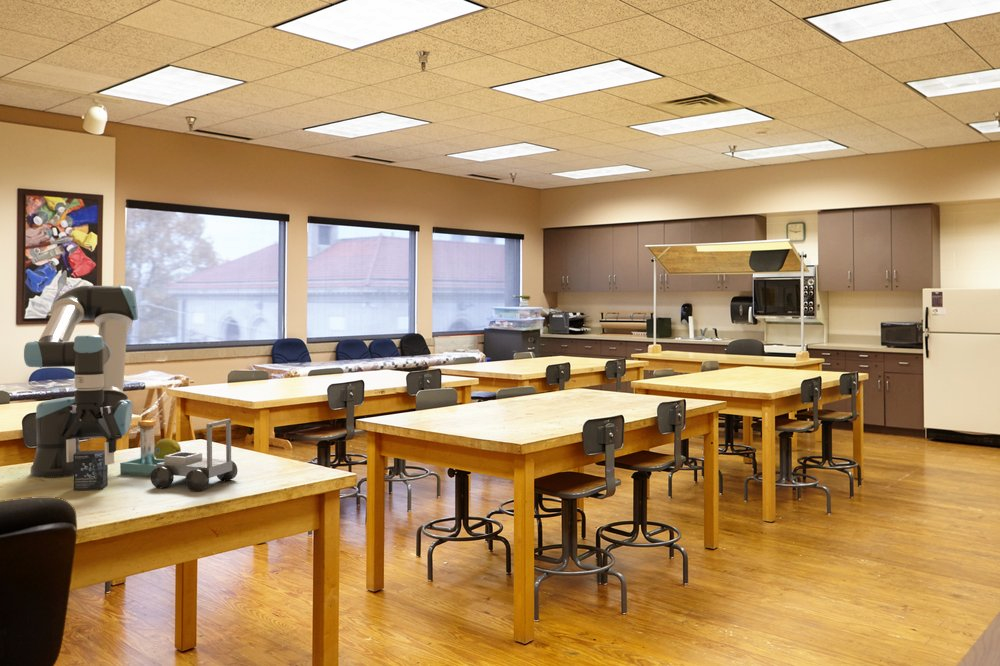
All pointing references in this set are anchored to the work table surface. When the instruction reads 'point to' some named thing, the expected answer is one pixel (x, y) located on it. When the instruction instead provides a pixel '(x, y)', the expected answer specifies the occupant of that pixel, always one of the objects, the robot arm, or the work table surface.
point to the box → (90, 470)
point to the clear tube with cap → (147, 441)
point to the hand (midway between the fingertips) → (90, 462)
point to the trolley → (196, 464)
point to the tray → (138, 467)
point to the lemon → (166, 448)
